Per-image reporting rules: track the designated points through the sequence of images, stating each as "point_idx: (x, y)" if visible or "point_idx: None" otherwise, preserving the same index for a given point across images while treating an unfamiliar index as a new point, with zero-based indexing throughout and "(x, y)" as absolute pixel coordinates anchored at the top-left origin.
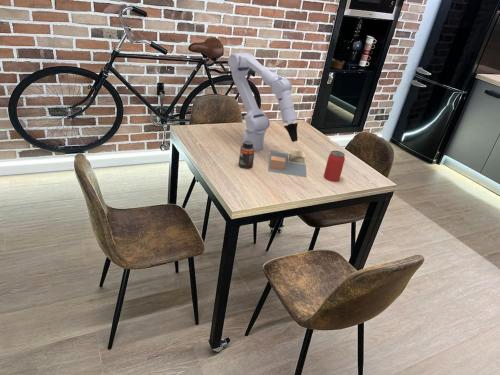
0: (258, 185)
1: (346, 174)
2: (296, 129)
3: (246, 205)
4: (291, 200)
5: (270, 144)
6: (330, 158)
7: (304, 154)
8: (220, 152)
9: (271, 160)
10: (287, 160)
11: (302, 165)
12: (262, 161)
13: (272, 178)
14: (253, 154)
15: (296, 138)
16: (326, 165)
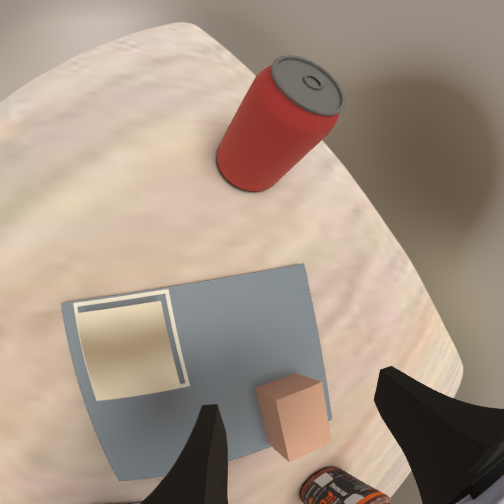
0: None
1: (166, 106)
2: (474, 406)
3: (455, 363)
4: (421, 284)
5: (32, 478)
6: (329, 131)
7: (115, 308)
8: None
9: (327, 437)
10: (172, 391)
11: (189, 303)
12: (238, 476)
13: (355, 383)
14: (367, 490)
15: (405, 379)
16: (284, 163)
